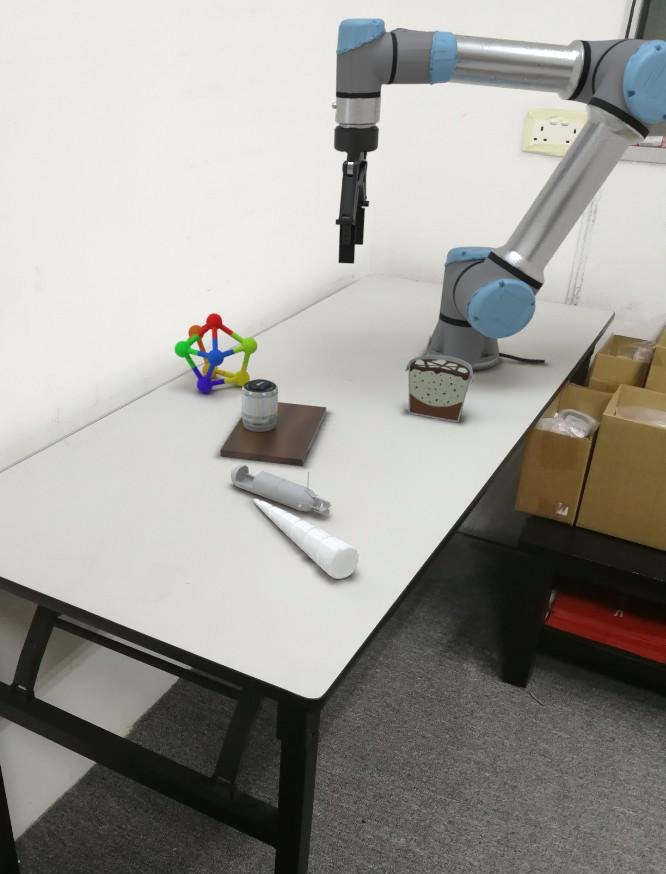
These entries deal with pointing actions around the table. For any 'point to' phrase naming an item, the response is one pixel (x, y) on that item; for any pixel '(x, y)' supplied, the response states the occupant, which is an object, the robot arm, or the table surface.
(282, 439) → the walnut board
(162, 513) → the table surface
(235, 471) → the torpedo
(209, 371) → the educational toy
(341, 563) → the unicorn horn
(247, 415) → the camera lens
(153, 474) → the table surface
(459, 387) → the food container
